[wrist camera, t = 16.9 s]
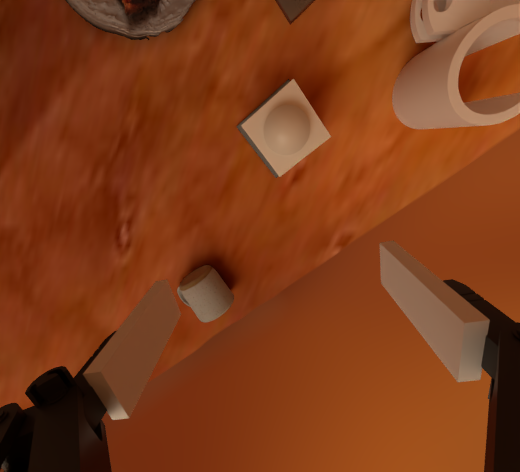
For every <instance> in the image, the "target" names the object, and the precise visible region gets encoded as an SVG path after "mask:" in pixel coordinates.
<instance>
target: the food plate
mask: <svg viewBox="0 0 520 472" xmlns="http://www.w3.org/2000/svg"><path fill="white" fill-rule="evenodd" d="M66 1H67V3H68V4H69V5H70V6H71V7H72V8H73V9H74V10H75V11H76V12H77V13H78V14H79V15H80V16H81V17H83V18H84V19H85V20H86V21H88V22H89V23H90V24H92V25H93V26H95V27H96V28H98V29H102V30H103V31H105V32H110V33H114V34H118V35H121V36H125V37H127V38H129V39H131V40H136V39H139V40H142V39H145V38H147V37H146V36H147V35H149V36H153V37H156V36H158V35H159V34H160V33H161V32H163V31H165V32H170V31H171V30H173V29H174V28H175V27H176V26H177V25H178V24H180V22H181V21H182V20H183V19H182V18H183V16H185V15H186V13H187V11H188V10H189V8H190V7H191V5H192V4H193V2H194V1H195V0H66ZM147 39H148V40H149V38H147Z"/></svg>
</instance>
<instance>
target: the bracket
mask: <svg viewBox="0 0 520 472" xmlns="http://www.w3.org/2000/svg"><path fill="white" fill-rule="evenodd" d="M421 8H422V17H423V21H422V19H421V17H420V11H421ZM410 25H411V31H412V35H413V37H414V40H415V42H416V43H425V42H437V43H435V44H434V45H432V46H430V47H429V48H427V49H426V50H424V51H422V52H421V53H419V54H418V55H416V56H415V57H413V58H412V59H411V60H410V61H409V62H408V63H407V64H406V65H405V66H404V68H403V69H402V70H401V72H400V74H399V75H398V77H397V80H396V82H395V85H394V89H393V95H392V102H393V108H394V111H395V114H396V116H397V117H398V119H399V120H400V121H401V122H402V123H403V124H404V125H406V126H408V127H410V128H414V129H434V128H451V127H467V126H484V125H493V124H498V123H501V122H504V121H506V120H509V119H511V118H513V117H514V116H516V115H518V114H519V113H520V93H515V94H510V95H504V96H499V97H493V98H488V99H482V100H477V101H471V102H466V103H464V102H463V101H462V99H461V97H460V94H459V89H458V76H459V71H460V67H461V64H462V61H463V59H464V57H465V56H468V55H470V54H472V53H475V52H477V51H479V50H482V49H484V48H487V47H489V46H491V45H494V44H496V43H499V42H501V41H503V40H506V39H508V38H511V37H513V36H515V35H518V34H520V0H412V4H411V10H410Z"/></svg>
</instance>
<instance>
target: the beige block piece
mask: <svg viewBox="0 0 520 472" xmlns="http://www.w3.org/2000/svg"><path fill="white" fill-rule="evenodd" d="M241 126H242V128H243V129H244V130H245V132H246V133H247V134H248V136H249V137H250V138H251V140H252V141H253V142H254V144H255V145H256V146H257V148H258V149H259V150H260V152H261V153H262V154H263V156H264V157H265V158H266V160H267V161H268V162H269V164H270V165H271V166H272V168H273V169H274V170H275V172H276V173H277V174H278V176H279V177H280V176H282V175H283V174H284V173H285V172H287V171H288V170H289V169H290V168H292V167H293V166H294V165H296V164H297V163H298V162H299V161H301V160H302V159H303V158H304V157H306V156H307V155H308V154H310V153H311V152H312V151H313V150H315V149H316V148H317V147H318V146H320V145H321V144H322V143H324V142H325V141H326V140H327V139H329V138H330V137H331V136H330V134H329V133H328V131H327V130H326V128H325V127H324V125H323V123H322V122H321V120H320V119H319V117H318V116H317V114H316V113H315V111H314V110H313V108H312V106H311V105H310V103H309V102H308V100H307V99H306V97H305V96H304V94H303V92H302V91H301V89H300V88H299V86H298V85H297V83H296V82H295V80H294V79H292V80H291V81H290V82H289V83H288V84H287V85H286V86H285V87H284V88H282V89H281V90H280V91H279V92H278V93H277V94H276V95H275V96H273V97H272V98H271V99H270V100H269V101H268V102H267V103H266V104H265V105H263V106H262V107H261V108H260V109H259V110H258V111H257V112H256V113H254V114H253V115H252V116H251V117H250V118H249V119H248V120H247V121H246V122H244V123H243V124H242V125H241Z"/></svg>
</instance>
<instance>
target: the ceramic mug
mask: <svg viewBox="0 0 520 472" xmlns="http://www.w3.org/2000/svg"><path fill="white" fill-rule="evenodd" d="M177 291H178V295H179V297H180V298H181V300H182V301H183V302H184V303H185V304H187V305H188V306H190V307H191V308H192V309H193V311H194V312H195V314H196V315H197V317H198V318H199V319H200V321H202V322H209V321H212V320H214V319H216V318H218V317H219V316H221V315H222V314H224V313H225V312H226V311H227V310H228V309H229V307H230V306H231V304H232V303H233V300H234V295H233V293H232V292H231V291H230V289H229V288H228V286H227V285H226V284H225V282H224V281H223V280H222V278H221V277H220V275H219V274H218V273H217V271H216V270H215V269H214V268H213V267H212V266H210V265H204V266H202V267H200V268H198V269H196V270H194V271H193V272H191V273H190V274H189V275H188V276H186V277H185V278H184V279H183V280H182V282H181V283H180V286H179V287H178V290H177Z"/></svg>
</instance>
